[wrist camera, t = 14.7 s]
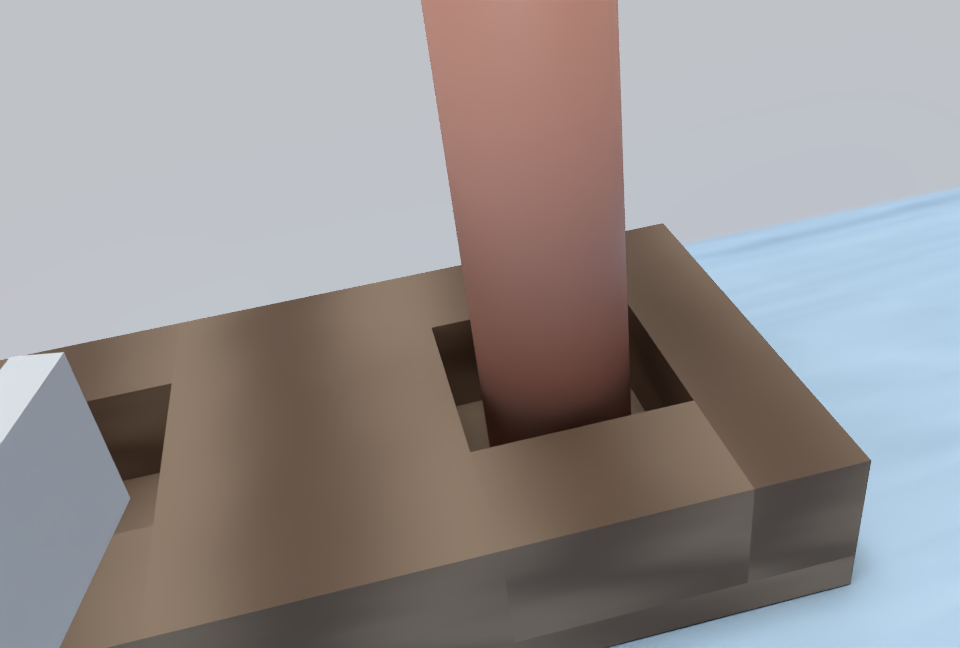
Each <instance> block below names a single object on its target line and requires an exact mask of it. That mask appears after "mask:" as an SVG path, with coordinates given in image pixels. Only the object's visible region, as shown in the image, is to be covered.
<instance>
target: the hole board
mask: <svg viewBox="0 0 960 648" xmlns="http://www.w3.org/2000/svg"><path fill="white" fill-rule="evenodd" d="M625 239H626V270H627V300H628V330H629V360H630V390H631V415H629V416H625V417H620V418H616V419H612V420H607V421H603V422H599V423H594V424H590V425H586V426H581V427H577V428H573V429H568V430H564V431H560V432H555V433H551V434H547V435H542V436H538V437H534V438H529V439H525V440H521V441H516V442H512V443H508V444H503V445H499V446H495V447H490V446H489V439H488V433H487V426H486V420H485V413H484V407H483V400H482V394H481V387H480V381H479V374H478V368H477V361H476V355H475V348H474V342H473V335H472V329H471V322H470V316H469V309H468V303H467V296H466V290H465V283H464V277H463V270H462V265H460V266H455V267H450V268H445V269H440V270H436V271H431V272H426V273H421V274H416V275H412V276H407V277H402V278H397V279H392V280H387V281H382V282H378V283H373V284H368V285H363V286H358V287H353V288H349V289H343V290H339V291H334V292H329V293H325V294H319V295H314V296H310V297H305V298H300V299H295V300H290V301H285V302H281V303H276V304H271V305H266V306H261V307H256V308H252V309H247V310H242V311H237V312H232V313H228V314H223V315H218V316H213V317H208V318H203V319H198V320H193V321H189V322H184V323H179V324H174V325H169V326H165V327H160V328H155V329H150V330H145V331H140V332H135V333H131V334H126V335H121V336H117V337H111V338H106V339H102V340H97V341H92V342H87V343H82V344H77V345H72V346H68V347H63V348H58V349H53V350H49V351H43V352H39V353H34V354H29V355H37V354H49V353H60V352H64V353H65V356H66V358H67V360H68V362H69V364H70V367H71V369H72V371H73V373H74V375H75V378H76V380H77V382H78V384H79V386H80V389H81V391H82V393H83V395H84V397H85V400H86V402H87V404H88V406H89V408H90V411H91V413H92V415H93V417H94V419H95V422H96V424H97V426H98V428H99V430H100V433H101V435H102V437H103V439H104V441H105V444H106V446H107V448H108V450H109V452H110V455H111V457H112V459H113V461H114V463H115V466H116V468H117V470H118V472H119V474H120V477H121V479H122V481H123V483H124V485H125V488H126V490H127V492H128V494H129V496H130V500H129V502H128V504H127V507H126V509H125V511H124V513H123V515H122V517H121V519H120V521H119V523H118V526H117V528H116V530H115V532H114V534H113V536H112V538H111V540H110V542H109V544H108V547H107V549H106V551H105V553H104V555H103V557H102V559H101V561H100V563H99V565H98V568H97V570H96V572H95V574H94V576H93V578H92V580H91V582H90V584H89V586H88V589H87V591H86V593H85V595H84V597H83V599H82V601H81V603H80V605H79V608H78V610H77V612H76V614H75V616H74V618H73V620H72V622H71V624H70V626H69V629H68V631H67V633H66V635H65V637H64V639H63V641H62V643H61V645H60V647H59V648H605V647H609V646H613V645H617V644H621V643H624V642H628V641H632V640H636V639H640V638H644V637H647V636H651V635H655V634H659V633H663V632H667V631H670V630H674V629H678V628H682V627H686V626H690V625H693V624H697V623H701V622H705V621H709V620H713V619H716V618H720V617H724V616H728V615H732V614H736V613H739V612H743V611H747V610H751V609H755V608H759V607H762V606H766V605H770V604H774V603H778V602H782V601H785V600H789V599H793V598H797V597H801V596H805V595H808V594H812V593H816V592H820V591H824V590H828V589H831V588H835V587H839V586H843V585H847V584H850V582H851V576H852V571H853V565H854V559H855V553H856V547H857V541H858V535H859V529H860V523H861V517H862V511H863V506H864V500H865V494H866V488H867V482H868V476H869V470H870V464H871V460H870V459H869V458H868V456H867V455H866V454H865V453H864V452H863V451H862V450H861V448H860V447H859V446H858V445H857V444H856V443H855V442H854V441H853V439H852V438H851V437H850V436H849V435H848V434H847V433H846V431H845V430H844V429H843V428H842V427H841V426H840V425H839V423H838V422H837V421H836V420H835V419H834V418H833V417H832V415H831V414H830V413H829V412H828V411H827V410H826V409H825V407H824V406H823V405H822V404H821V403H820V402H819V401H818V399H817V398H816V397H815V396H814V395H813V394H812V393H811V391H810V390H809V389H808V388H807V387H806V386H805V385H804V384H803V382H802V381H801V380H800V379H799V378H798V377H797V376H796V374H795V373H794V372H793V371H792V370H791V369H790V368H789V366H788V365H787V364H786V363H785V362H784V361H783V360H782V358H781V357H780V356H779V355H778V354H777V353H776V352H775V350H774V349H773V348H772V347H771V346H770V345H769V344H768V342H767V341H766V340H765V339H764V338H763V337H762V336H761V335H760V333H759V332H758V331H757V330H756V329H755V328H754V327H753V325H752V324H751V323H750V322H749V321H748V320H747V319H746V317H745V316H744V315H743V314H742V313H741V312H740V311H739V309H738V308H737V307H736V306H735V305H734V304H733V303H732V301H731V300H730V299H729V298H728V297H727V296H726V295H725V293H724V292H723V291H722V290H721V289H720V288H719V287H718V286H717V284H716V283H715V282H714V281H713V280H712V279H711V278H710V276H709V275H708V274H707V273H706V272H705V271H704V270H703V268H702V267H701V266H700V265H699V264H698V263H697V262H696V260H695V259H694V258H693V257H692V256H691V255H690V254H689V252H688V251H687V250H686V249H685V248H684V247H683V246H682V244H681V243H680V242H679V241H678V240H677V239H676V238H675V237H674V235H673V234H672V233H671V232H670V231H669V230H668V229H667V227H666V226H665V225H664V224H658V225H653V226H648V227H643V228H639V229H634V230H629V231H625ZM24 356H25V355H24ZM7 360H8V359H5V360H0V369H1V368H2V367H3V366H4V364H5V363H6V362H7Z"/></svg>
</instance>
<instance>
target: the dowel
mask: <svg viewBox="0 0 960 648" xmlns="http://www.w3.org/2000/svg"><path fill="white" fill-rule="evenodd" d="M421 4H422V10H423V17H424V23H425V29H426V36H427V43H428V49H429V55H430V62H431V69H432V75H433V82H434V88H435V95H436V101H437V108H438V114H439V121H440V127H441V134H442V140H443V147H444V153H445V160H446V166H447V172H448V179H449V186H450V192H451V199H452V205H453V212H454V218H455V225H456V231H457V237H458V244H459V251H460V257H461V264H462V270H463V277H464V283H465V290H466V296H467V303H468V309H469V316H470V322H471V329H472V335H473V342H474V348H475V355H476V361H477V368H478V374H479V381H480V387H481V394H482V400H483V407H484V413H485V420H486V426H487V433H488V439H489V446H490V447H495V446H499V445H503V444H508V443H512V442H516V441H521V440H525V439H529V438H534V437H538V436H542V435H547V434H551V433H555V432H560V431H564V430H568V429H573V428H577V427H581V426H586V425H590V424H594V423H599V422H603V421H607V420H612V419H616V418H620V417H625V416H629V415H631V390H630V360H629V330H628V300H627V270H626V239H625V209H624V179H623V151H622V150H623V149H622V120H621V89H620V60H619V59H620V58H619V30H618V29H619V28H618V0H421Z"/></svg>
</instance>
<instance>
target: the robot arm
mask: <svg viewBox="0 0 960 648" xmlns="http://www.w3.org/2000/svg"><path fill="white" fill-rule="evenodd" d="M129 500H130V496H129V494H128V492H127V490H126V488H125V485H124V483H123V481H122V479H121V477H120V474H119V472H118V470H117V468H116V466H115V463H114V461H113V459H112V457H111V455H110V452H109V450H108V448H107V446H106V444H105V441H104V439H103V437H102V435H101V433H100V430H99V428H98V426H97V424H96V422H95V419H94V417H93V415H92V413H91V411H90V408H89V406H88V404H87V402H86V400H85V397H84V395H83V393H82V391H81V389H80V386H79V384H78V382H77V380H76V378H75V375H74V373H73V371H72V369H71V367H70V364H69V362H68V360H67V358H66V356H65V353H64V352H60V353H49V354H37V355H25V356H14V357H10V358H9V359H8V360H7V362H6V363H5V364H4V366H3V367H2V368H1V369H0V648H59V647H60V645H61V643H62V641H63V639H64V637H65V635H66V633H67V631H68V629H69V626H70V624H71V622H72V620H73V618H74V616H75V614H76V612H77V610H78V608H79V605H80V603H81V601H82V599H83V597H84V595H85V593H86V591H87V589H88V586H89V584H90V582H91V580H92V578H93V576H94V574H95V572H96V570H97V568H98V565H99V563H100V561H101V559H102V557H103V555H104V553H105V551H106V549H107V547H108V544H109V542H110V540H111V538H112V536H113V534H114V532H115V530H116V528H117V526H118V523H119V521H120V519H121V517H122V515H123V513H124V511H125V509H126V507H127V504H128V502H129Z"/></svg>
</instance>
